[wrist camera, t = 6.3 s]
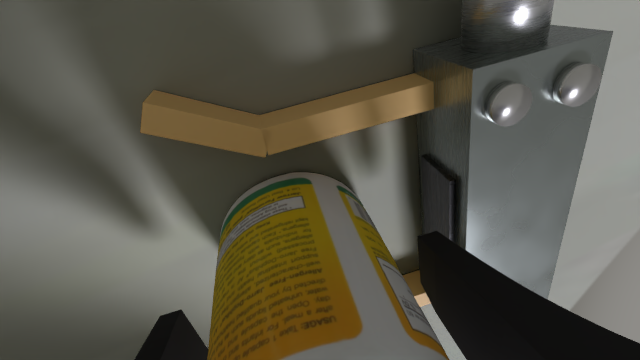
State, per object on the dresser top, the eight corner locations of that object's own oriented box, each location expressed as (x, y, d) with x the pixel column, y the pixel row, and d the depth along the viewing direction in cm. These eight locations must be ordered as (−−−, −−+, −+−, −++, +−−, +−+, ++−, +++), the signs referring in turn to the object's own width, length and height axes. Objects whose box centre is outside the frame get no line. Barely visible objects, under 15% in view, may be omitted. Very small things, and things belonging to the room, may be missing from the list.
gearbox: (493, 268, 16) (548, 327, 13) (421, 291, 16) (461, 356, 13) (529, -75, 9) (662, -106, 6) (400, -44, 9) (477, -61, 6)
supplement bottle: (385, 184, 12) (678, 576, 4) (333, 289, 14) (455, 682, 6) (239, 149, 10) (235, 735, 2) (204, 275, 12) (135, 809, 4)
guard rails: (426, 300, 16) (438, 321, 15) (268, 351, 15) (270, 376, 14) (411, 22, 10) (432, 26, 9) (139, 93, 9) (126, 106, 8)
